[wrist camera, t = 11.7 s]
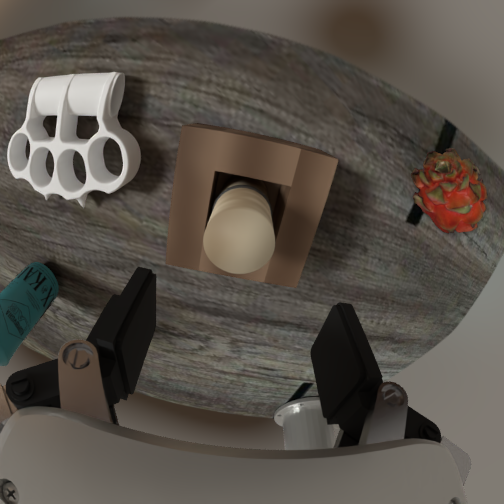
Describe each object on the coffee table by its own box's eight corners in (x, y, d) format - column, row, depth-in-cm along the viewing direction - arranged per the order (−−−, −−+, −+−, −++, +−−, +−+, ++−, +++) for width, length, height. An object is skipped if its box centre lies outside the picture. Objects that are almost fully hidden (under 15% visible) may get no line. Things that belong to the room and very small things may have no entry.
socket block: (319, 149, 24) (338, 159, 19) (288, 255, 30) (296, 287, 24) (197, 123, 23) (182, 125, 18) (180, 235, 28) (165, 264, 23)
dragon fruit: (390, 149, 25) (447, 188, 29) (391, 222, 24) (448, 249, 28) (448, 120, 17) (496, 173, 21) (461, 205, 16) (504, 242, 20)
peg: (273, 177, 25) (285, 217, 16) (262, 222, 27) (266, 281, 18) (224, 167, 24) (207, 200, 15) (215, 212, 26) (197, 267, 18)
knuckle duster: (157, 76, 21) (136, 212, 28) (31, 80, 19) (24, 190, 25) (145, 71, 18) (124, 224, 25) (14, 81, 16) (8, 199, 22)
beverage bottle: (53, 298, 33) (-11, 396, 16) (27, 266, 30) (-48, 355, 13) (72, 282, 32) (-3, 392, 14) (43, 245, 29) (-47, 343, 11)
